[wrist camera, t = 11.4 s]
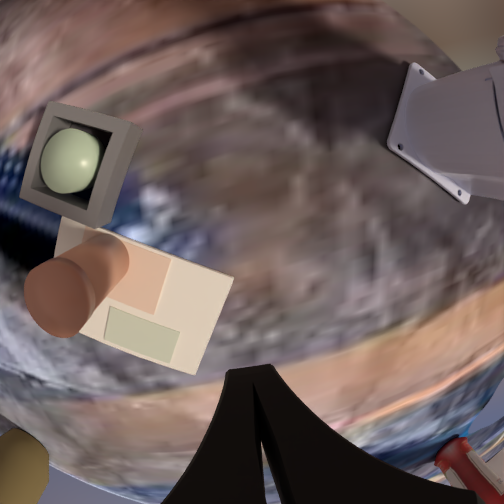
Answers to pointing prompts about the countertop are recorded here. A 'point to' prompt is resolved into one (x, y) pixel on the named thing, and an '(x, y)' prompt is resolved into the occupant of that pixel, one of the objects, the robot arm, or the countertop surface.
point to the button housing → (108, 176)
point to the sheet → (154, 302)
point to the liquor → (469, 471)
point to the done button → (71, 161)
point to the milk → (497, 464)
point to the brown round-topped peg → (75, 284)
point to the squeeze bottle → (22, 468)
